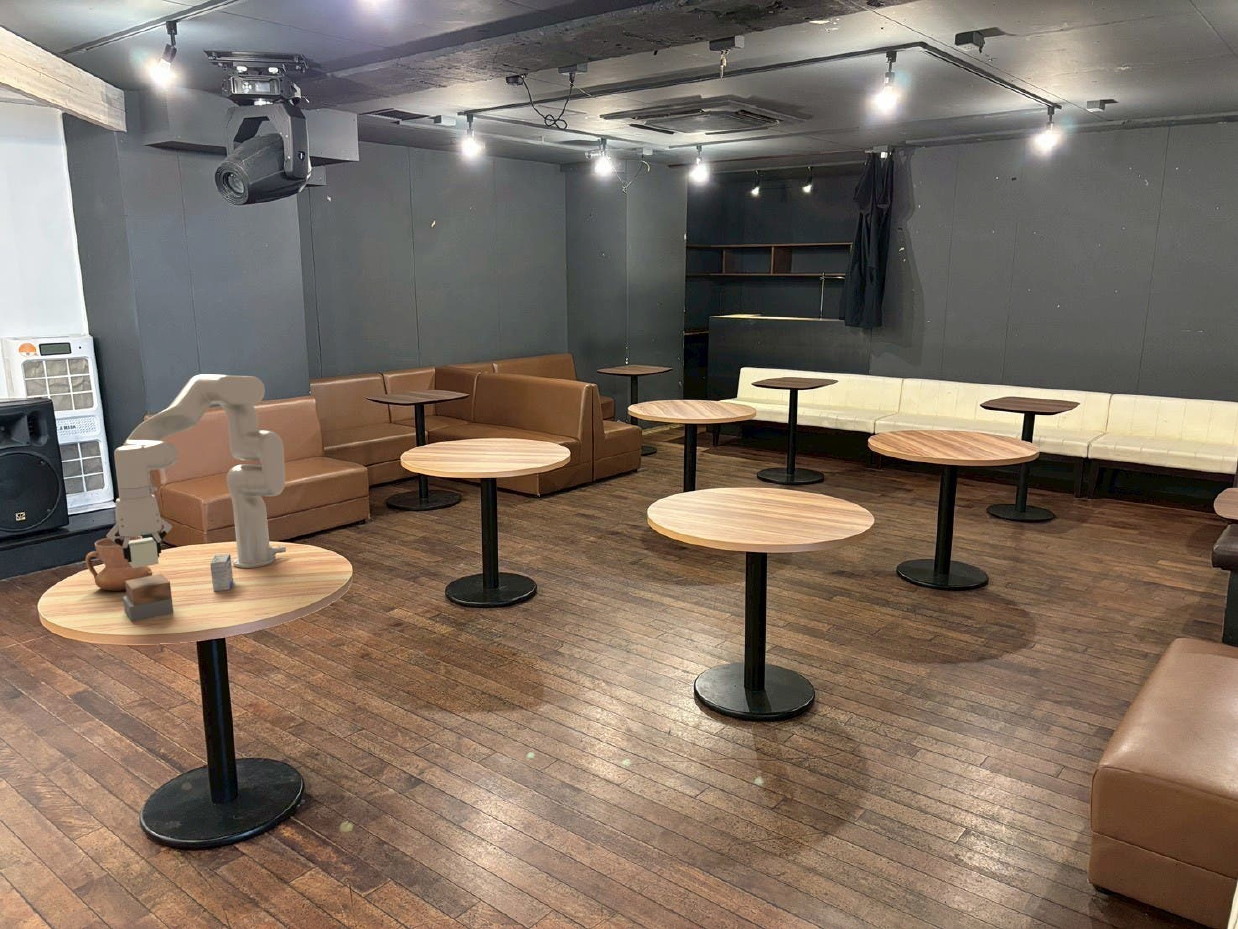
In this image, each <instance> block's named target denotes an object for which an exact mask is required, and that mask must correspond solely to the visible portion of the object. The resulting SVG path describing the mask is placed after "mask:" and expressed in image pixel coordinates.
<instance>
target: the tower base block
mask: <svg viewBox="0 0 1238 929" xmlns="http://www.w3.org/2000/svg"><path fill="white" fill-rule="evenodd" d="M122 601H123V609H124V612H125V614H126V616H127V618H128V619H129V621H130V622H131V623H134V622H140V621H144V620H150V619H153V618H157V617H163V616H168V615H172V614H174V606H173V605H174V604H173V598H170V599H165V600H160V601H155V602H151V603H146V604H141V605H136V606H134V605H133V604H132V603H131V601H130V600H129V599H128V598H127V595H125V596H122Z"/></svg>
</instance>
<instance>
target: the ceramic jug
mask: <svg viewBox="0 0 1238 929" xmlns="http://www.w3.org/2000/svg"><path fill="white" fill-rule="evenodd" d="M116 537H117V538H119V539H121V540H122V537H121V536H120V535H119V536H116ZM138 539H144V538H143V535H140V536H133V537H130V540H129V541H131V540H138ZM94 547H95V548H94V549H95V550H94V551H91V552H88V553H87V554H86V556H85V565H86V567H87V569H88V571H89V572H90V573H91V575H92V576H93V578H94V583H95V585H96V587H98V588H100V589H102V590H104V591H105V590H106V591H108V592H109V591H110V592H111V591H114V592H118V591H119V592H120V591H121V592H122V591H126V586H125V581H127V580H132V579H137V578H142V577H148V576H153V570H152V569H151V568H150V567H149V566H144V567H138V568H133V567H132V566H131V565H130V564H129V562H128V561H127V559H124V555H123V547H122V546H120V545H118V544H117V543H115V542H114V541H112V540H110V539H109V538H107V537H106V538H102V539H98V540H97V541H95V542H94ZM92 557H95V558H97V559H99V560H101V562H102V563H103V565H104V566H105V567H104V568H103V569H102V570H101V571H100V572H97V570H96V569H95V566H94V565H93V563H92Z"/></svg>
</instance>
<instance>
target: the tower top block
mask: <svg viewBox="0 0 1238 929" xmlns="http://www.w3.org/2000/svg"><path fill="white" fill-rule="evenodd" d="M125 586H126V590H125V592H126V596H127V598H128V599H129V600H130V601H131V603H132V604H133V605H134V606H136V605H141V604H146V603H151V602H155V601H160V600H165V599H170V598H172V590H171V589H172V588H171V581H169V580H168V579H167V578H166V576H164V575H163V574H162V573H160V574H152V576H148V577H142V578H137V579H132V580H127V581H125ZM172 599H173V598H172Z"/></svg>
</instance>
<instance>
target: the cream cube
mask: <svg viewBox="0 0 1238 929" xmlns="http://www.w3.org/2000/svg"><path fill="white" fill-rule="evenodd" d="M128 545H129V548H130V554H131V562H129V564H130V565H131V566H132V567H133V568H138V567H144V566H148V567H149V566H154V565H155V566H156V565H159V557H158V554H157V545H156V541H155V540H154V537H153V536H152V537H144V538H143V539H138V540H131V541H129V543H128Z"/></svg>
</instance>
